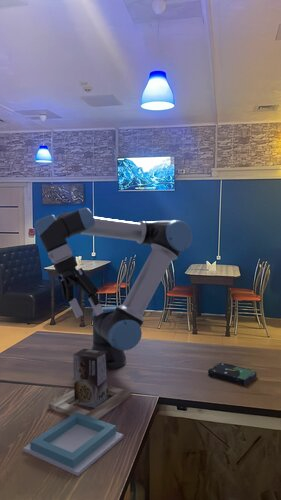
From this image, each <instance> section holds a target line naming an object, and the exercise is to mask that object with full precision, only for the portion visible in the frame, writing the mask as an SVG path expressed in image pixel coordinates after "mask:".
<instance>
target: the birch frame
mask: <svg viewBox="0 0 281 500" xmlns="http://www.w3.org/2000/svg"><path fill="white" fill-rule="evenodd" d="M131 395H132V393H131V391H130V390H127V389H122V388H119V387H115V386H112V385H108V396H111V397H109V398H108V400H107V401H105V402H104V403H102V404H101V405H99V406H98V407H96V408H93V409H92V410H88V409H85V408H82V407H79V406H76V405H72V404H70V403H71V402H75V398H74V389H73V390H71V391H69V392H67V393H66V394H64V395H62V396H59V397H58V398H56V399H55V400H53V401H51V402H50V403H48V409H50V410H52V411H55V412H58V413H60V412H61V413H60V414H64V415H67V416H68V417H70V416H71V415H73V414H74V413H76V412H77V413H80V414H83V415H86V416H89V417H92V418H95V419H98V420H100V418H102V417H103V416H105V415H106V414H108V413H109V412H111V411H112V410H113V409H115V408H117V406H119V405H120V404H122V403H123V402H124V401H126V400H128V399H129V398H130V397H131Z"/></svg>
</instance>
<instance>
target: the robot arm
mask: <svg viewBox="0 0 281 500" xmlns="http://www.w3.org/2000/svg"><path fill="white" fill-rule="evenodd" d="M34 227H35V230H36V232H37V234H38V235H37V236H38V237H39V238H40V240H41V243H42V245H43V247H44V249H45V250H46V253H47V255H48V258H49V259H50V261H51V263H54V264H53V268H54V269H55V271H56V274H57V275H58V276H57V278H58V282H59V285H60V289H61V294H62V298H63V300H64V301H66V302H67V303H68V304H69V305H70V307H71V310H72V311H73V314H74V316H75V318H76V319H79V318H80V317H81V316H83V315H84V313H83V310H82V308H81V307H80V305H79V303H78V302H79V301H78V300H77V298H76V296H75V293H74V292H75V290H74V289H75V288H74V287H75V286H76V287H78V288H79V289H80V290H81V291H82V292H83V293H84V294H86V295H87V300H88V301H89V303H90V306H91V308H92V315H91V319H92V347H91V349H92V350H98V351H105V352H107V370H113V368H115V369H118V367H119V368H121V367H124V366H125V365H124V364H126V363H127V357H126V353H125V351H129V350H132V349H133V348H135V347H136V346H137V345H138V344H139V343H140V341H141V338H142V335H143V332H142V327H143V324H144V322H145V320H144V317H143V315H144V313H145V311H146V309H147V308H148V307H149V303H150V302H151V300H152V298H153V296H154V295H155V293H156V290H157V288H158V287H159V286H160V282H161V281H162V279H163V277H164V275H165V274H166V272H167V270H168V268H169V267H170V264H171V263H172V262H173V261H175V260H178V258H179V256H180V254H181V252H183V251H185V250H187V249H189V248H190V246H191V244H192V243H193V232H192V229H191V227H190V225H189V224H188V223H186V222H185V221H183V220H178V219H172V220H155V221H154V220H153V221H152V220H151V221H146V220H140V221H138V222H134V221H129V220H127V221H126V220H119V219H115V218H114V219H112V218H107V217H106V218H105V217H100V216H94V214H93V213H92V211H91V210H90V208H88V207H83V208H79V209H77V210H74V211H70V212H69V211H68V212H61V213H60V214H58V215H57V216H55V214H49V215H47V216H44V217H42V218H40V219H37V220H36V221H35V223H34ZM75 235H86V236H92V237H93V236H94V237H101V238H102V237H103V238H111V239H119V240H125V241H126V240H127V241H134V242H136V243H137V244H138V245H139V244H140V245H146V246H150V247H151V252H150V253H149V255H148V257H147V259H146V261H145V263H144V264H143V266H142V268H141V270H140V272H139V274H138V275H137V278H136V279H135V281H134V282H133V284H132V287H131V288H130V291H129V292H128V294H127V296H126V297H125V300H124V301H123V303H122V304H120V305H116V306H113V305H112V306H102V305H101V303H100V301H99V299H98V297H97V293H99V289H98V288H97V286H96V285H95V284H94V283H93V281H92V280H91V279H90V278H89V277H88V276H87V274H86V273H85V271H84V270H83V268H82V267H80V268H78V269H77V268H76V267H77V266H78V265H79V264H78V262H77V260H76V258H75V256H73V252H72V248H71V247H70V245H69V243H68V239H70V238H71V237H73V236H75Z"/></svg>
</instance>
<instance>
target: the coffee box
mask: <svg viewBox="0 0 281 500" xmlns="http://www.w3.org/2000/svg"><path fill="white" fill-rule="evenodd" d="M72 358H73V359H72V360H73V361H72V362H73V365H72V366H73V390H74V398H75V400H74V404H75V405H79V406H85V407H88V408H93V409H95V408H96V407H98V406H99V405H101V404H102V403H104V402H105V401H107V400H108V399H109V395H108V386H109V384H108V369H107V352H105V351H98V350H92V348H82V349H80V350H79V351H77V352H76V353H73V355H72Z"/></svg>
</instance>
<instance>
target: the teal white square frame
mask: <svg viewBox="0 0 281 500" xmlns="http://www.w3.org/2000/svg"><path fill="white" fill-rule="evenodd" d="M123 438H124V434H123V433H121V432H117V425H115V424H112V423H109V422H106V421H103V420H100V419H95V418H92V417H89V416H86V415H83V414H80V413H77V412H76V413H74V414H73V415H71V416H68V417H66V418H65V419H63V420H62V421H59V423H57V424H55V425H54V426H53V427H51V428H49V429H47V430H45V432H43V433H41V434H39V436H36V437H35V438H33V439H31V440H30V441H29V443H28V444H27V445H25V446H24V447H23V448H22V449H23V452H25V453H27V454H29V455H31V456H34V457H36V458H37V459H39V460H43V461H45V462H46V463H48V464H51V465H53V466H56V467H58V468H60V469H62V470H65V472H68V473H71V474H73V475H75V476H77V477H79V476H80V475H81V474H82V473H84V472H85V471H86V470H88V469H89V467H91V466H92V465H93V464H94V463H95V462H96V461H97V460H99V459H100V458H102V456H103V455H104V454H105V453H107V452H108V451H109V450H111V449H112V448H113V447H114V446H115V445H116V444H118V443H119V441H121V440H122V439H123Z"/></svg>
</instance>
